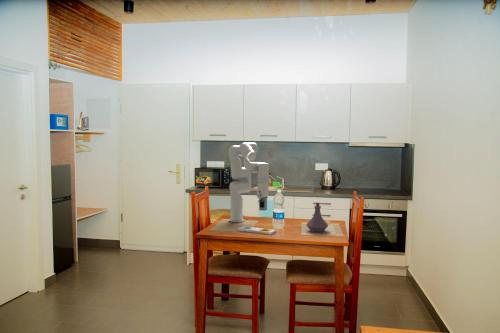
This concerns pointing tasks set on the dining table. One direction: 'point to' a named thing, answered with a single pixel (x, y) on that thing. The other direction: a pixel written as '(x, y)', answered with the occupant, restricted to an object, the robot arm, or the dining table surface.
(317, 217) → the flask
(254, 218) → the dining table surface
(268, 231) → the white flat tray
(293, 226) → the dining table surface
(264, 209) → the nut block
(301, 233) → the dining table surface
